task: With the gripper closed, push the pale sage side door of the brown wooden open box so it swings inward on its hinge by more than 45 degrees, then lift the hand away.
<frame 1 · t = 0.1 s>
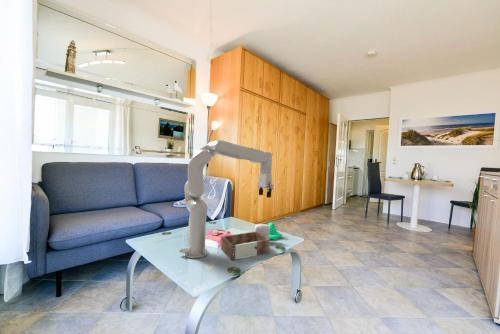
hand: (264, 196, 145), 31 cm above the table, fingers open, 9 cm apart
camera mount: (272, 238, 155), on the table
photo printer: (261, 242, 146), on the table
brown wooden open box: (244, 251, 130), on the table
cabinet door: (246, 250, 122), point 4 cm above the table, hinge at 0.0°
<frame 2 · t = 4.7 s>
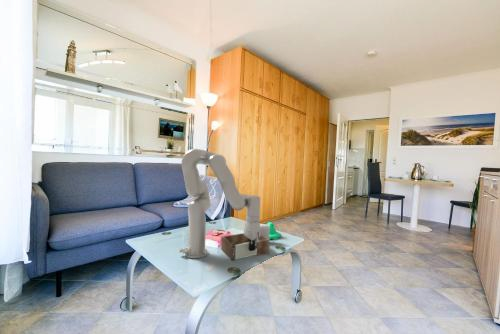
hand: (251, 250, 121), 5 cm above the table, fingers closed
cabinet door: (245, 250, 122), point 4 cm above the table, hinge at 3.6°, touching gripper
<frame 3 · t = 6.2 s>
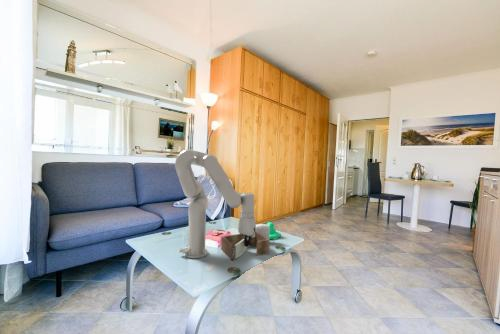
hand: (247, 245, 126), 5 cm above the table, fingers closed
cabinet door: (241, 248, 125), point 4 cm above the table, hinge at 35.3°, touching gripper
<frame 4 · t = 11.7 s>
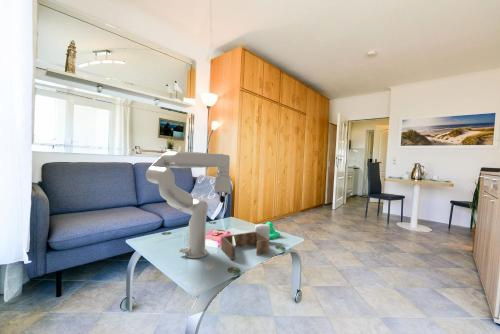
hand: (222, 202, 139), 27 cm above the table, fingers closed
cabinet door: (234, 247, 126), point 4 cm above the table, hinge at 69.7°
at the end: cabinet door at +70° (first picture: +0°); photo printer moved 0.3 cm from its start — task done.
